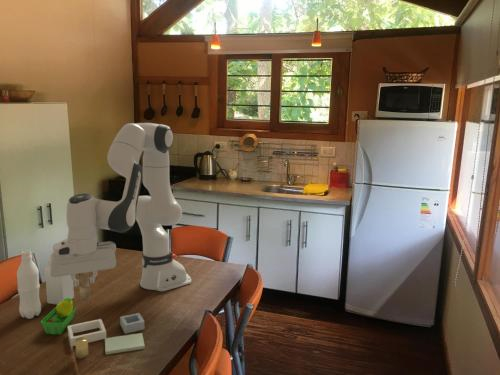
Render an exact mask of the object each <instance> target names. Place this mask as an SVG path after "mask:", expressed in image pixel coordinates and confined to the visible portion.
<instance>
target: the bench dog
mask: <svg viewBox="0 0 500 375" xmlns="http://www.w3.org/2000/svg"><path fill="white" fill-rule="evenodd" d="M88 356H89V342H88V339H87V338H86V337H81V338H78V339H76V341H75V358H77V359H85V358H87V357H88Z"/></svg>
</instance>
